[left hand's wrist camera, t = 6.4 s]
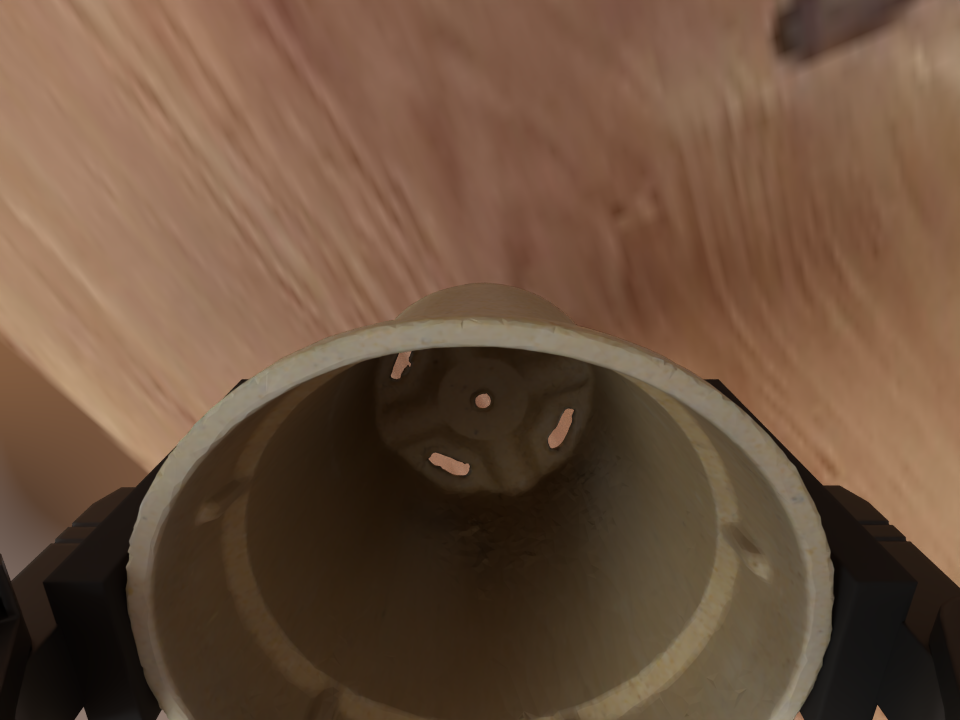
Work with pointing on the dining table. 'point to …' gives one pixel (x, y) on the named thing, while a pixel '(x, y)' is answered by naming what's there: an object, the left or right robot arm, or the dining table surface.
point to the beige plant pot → (479, 535)
